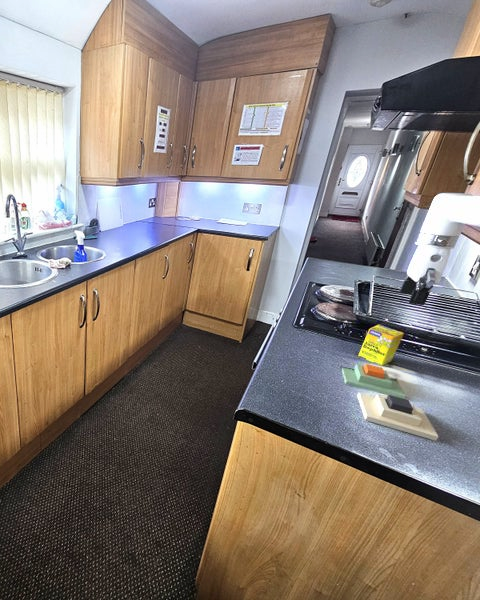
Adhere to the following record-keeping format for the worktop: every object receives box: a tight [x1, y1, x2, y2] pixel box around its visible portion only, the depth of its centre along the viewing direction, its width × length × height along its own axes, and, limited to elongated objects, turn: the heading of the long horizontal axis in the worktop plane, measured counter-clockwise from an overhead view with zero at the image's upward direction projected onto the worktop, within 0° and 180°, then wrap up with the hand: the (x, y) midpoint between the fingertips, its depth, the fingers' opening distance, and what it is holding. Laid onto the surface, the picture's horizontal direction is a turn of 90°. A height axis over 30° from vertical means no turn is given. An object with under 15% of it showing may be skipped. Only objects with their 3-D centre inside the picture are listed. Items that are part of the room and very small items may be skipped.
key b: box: [363, 363, 386, 379], centre depth 87 cm, size 4×4×2 cm
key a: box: [386, 395, 413, 414], centre depth 75 cm, size 4×4×2 cm
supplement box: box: [357, 323, 405, 367], centre depth 95 cm, size 6×6×11 cm
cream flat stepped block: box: [357, 391, 439, 442], centre depth 76 cm, size 12×10×3 cm
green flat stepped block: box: [340, 363, 407, 399], centre depth 88 cm, size 12×10×3 cm
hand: (411, 298), depth 95 cm, fingers open, 9 cm apart
